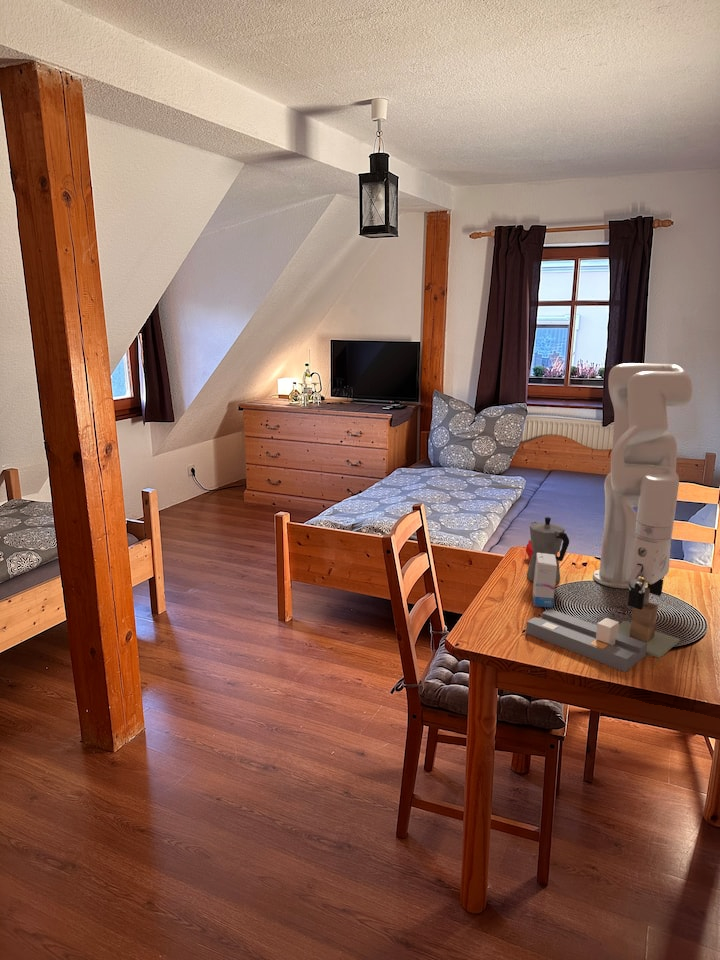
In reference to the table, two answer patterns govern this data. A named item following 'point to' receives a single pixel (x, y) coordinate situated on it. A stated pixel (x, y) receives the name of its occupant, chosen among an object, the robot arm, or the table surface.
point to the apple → (529, 550)
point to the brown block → (644, 620)
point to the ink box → (544, 580)
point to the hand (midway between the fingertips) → (644, 600)
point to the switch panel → (586, 640)
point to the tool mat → (652, 640)
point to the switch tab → (607, 631)
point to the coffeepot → (547, 543)
